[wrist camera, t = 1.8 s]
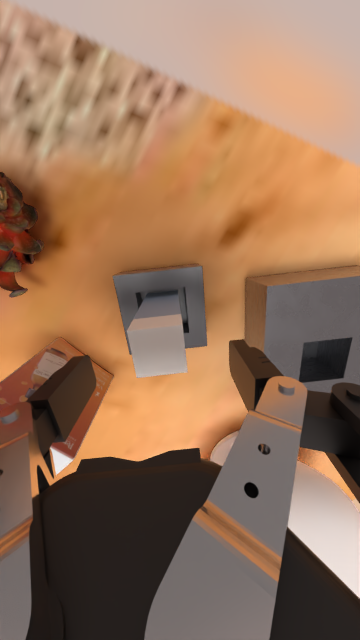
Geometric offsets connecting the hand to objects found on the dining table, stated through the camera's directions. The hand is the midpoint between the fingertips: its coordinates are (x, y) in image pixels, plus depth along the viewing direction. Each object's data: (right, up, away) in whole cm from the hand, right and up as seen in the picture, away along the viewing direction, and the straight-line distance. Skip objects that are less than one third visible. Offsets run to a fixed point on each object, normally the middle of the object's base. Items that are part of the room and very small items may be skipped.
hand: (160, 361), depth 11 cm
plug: (-1, +4, +10) cm, 11 cm away
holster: (-1, +4, +10) cm, 11 cm away
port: (+15, 0, +12) cm, 19 cm away
